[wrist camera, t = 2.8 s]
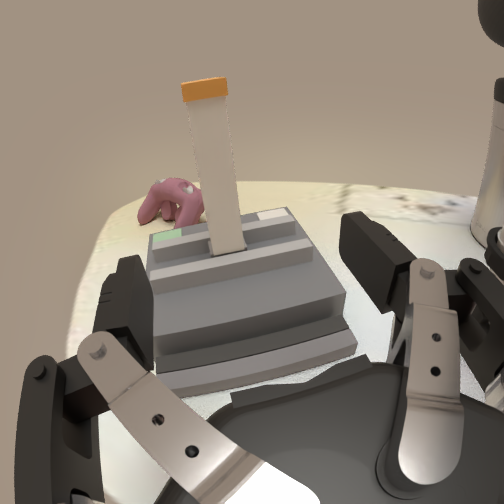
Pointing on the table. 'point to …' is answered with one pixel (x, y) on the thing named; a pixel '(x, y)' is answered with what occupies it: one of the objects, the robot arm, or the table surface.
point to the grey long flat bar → (256, 358)
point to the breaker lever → (215, 163)
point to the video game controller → (173, 202)
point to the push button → (492, 267)
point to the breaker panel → (237, 284)
